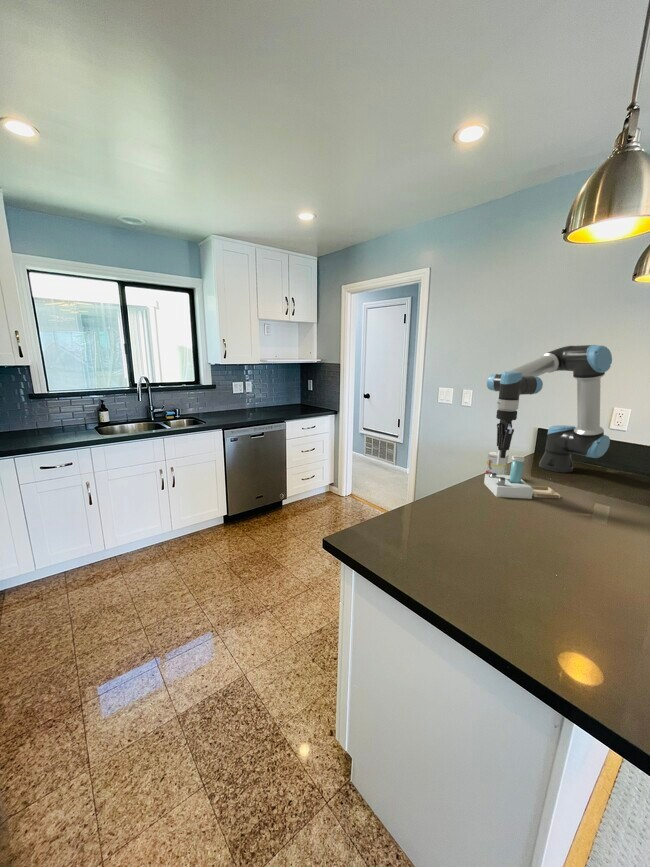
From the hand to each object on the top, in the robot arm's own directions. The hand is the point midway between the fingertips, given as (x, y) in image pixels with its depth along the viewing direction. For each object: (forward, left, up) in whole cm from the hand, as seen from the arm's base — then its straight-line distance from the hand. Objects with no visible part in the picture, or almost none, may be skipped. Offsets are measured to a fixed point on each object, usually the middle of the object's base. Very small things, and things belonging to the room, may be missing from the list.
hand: (500, 464), depth 149 cm
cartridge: (-2, +8, -12) cm, 15 cm away
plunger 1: (-7, 0, -12) cm, 14 cm away
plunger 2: (+3, 0, -10) cm, 11 cm away
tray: (-1, +19, -13) cm, 23 cm away
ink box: (-22, +7, -13) cm, 27 cm away
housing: (-2, +5, -13) cm, 14 cm away
